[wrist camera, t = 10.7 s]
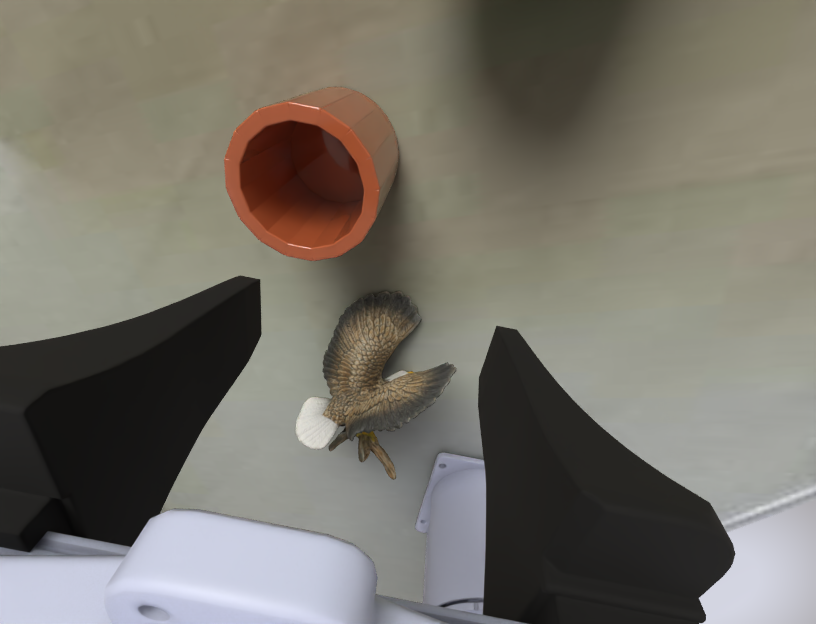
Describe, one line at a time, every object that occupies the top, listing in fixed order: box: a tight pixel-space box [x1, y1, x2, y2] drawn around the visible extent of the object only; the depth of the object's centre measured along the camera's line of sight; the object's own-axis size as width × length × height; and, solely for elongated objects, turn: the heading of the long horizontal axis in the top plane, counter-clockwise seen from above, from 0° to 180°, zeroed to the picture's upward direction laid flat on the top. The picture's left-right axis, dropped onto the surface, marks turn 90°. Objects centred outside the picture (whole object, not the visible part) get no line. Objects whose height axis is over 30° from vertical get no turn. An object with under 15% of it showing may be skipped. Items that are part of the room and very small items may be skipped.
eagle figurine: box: [295, 291, 456, 479], centre depth 24 cm, size 8×7×9 cm
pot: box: [224, 87, 399, 261], centre depth 17 cm, size 5×5×6 cm
